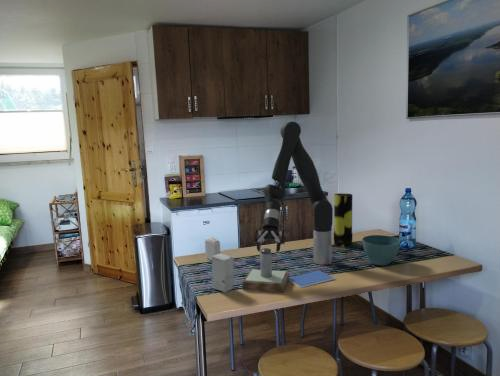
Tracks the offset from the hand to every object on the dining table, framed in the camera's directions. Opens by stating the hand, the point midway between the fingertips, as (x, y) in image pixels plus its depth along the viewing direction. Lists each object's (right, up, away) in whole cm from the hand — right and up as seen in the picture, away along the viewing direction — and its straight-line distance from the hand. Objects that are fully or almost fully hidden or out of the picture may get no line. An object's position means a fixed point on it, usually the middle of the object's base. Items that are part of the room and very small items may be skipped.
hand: (268, 251), depth 185 cm
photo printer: (-28, -10, +35) cm, 46 cm away
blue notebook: (+20, -14, +4) cm, 25 cm away
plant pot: (+58, -10, +23) cm, 64 cm away
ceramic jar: (-1, -11, -1) cm, 11 cm away
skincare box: (-20, -16, -4) cm, 26 cm away
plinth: (-1, -15, -1) cm, 15 cm away
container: (+47, -5, +56) cm, 73 cm away
